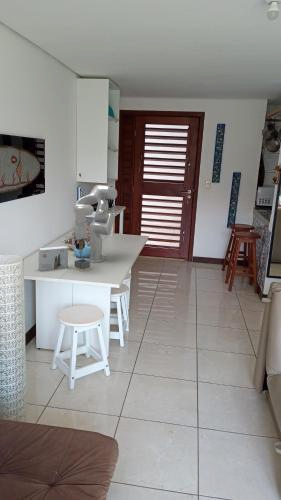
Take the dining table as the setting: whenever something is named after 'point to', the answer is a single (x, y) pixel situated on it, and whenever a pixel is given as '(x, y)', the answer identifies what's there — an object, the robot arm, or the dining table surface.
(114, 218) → the robot arm
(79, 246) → the peg
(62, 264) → the skincare box
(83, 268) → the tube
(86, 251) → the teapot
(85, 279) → the dining table surface
